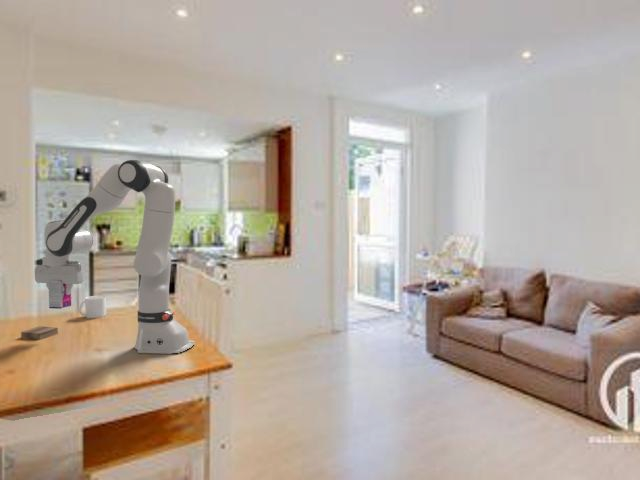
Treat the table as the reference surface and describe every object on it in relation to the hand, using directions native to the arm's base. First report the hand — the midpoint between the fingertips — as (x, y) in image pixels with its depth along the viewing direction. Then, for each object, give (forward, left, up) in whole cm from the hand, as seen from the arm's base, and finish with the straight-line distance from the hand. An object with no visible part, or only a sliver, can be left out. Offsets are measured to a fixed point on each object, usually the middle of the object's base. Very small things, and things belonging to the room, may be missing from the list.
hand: (59, 294), depth 176 cm
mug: (+12, -33, -18) cm, 40 cm away
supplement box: (0, 0, -6) cm, 6 cm away
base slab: (+10, 0, -18) cm, 21 cm away
